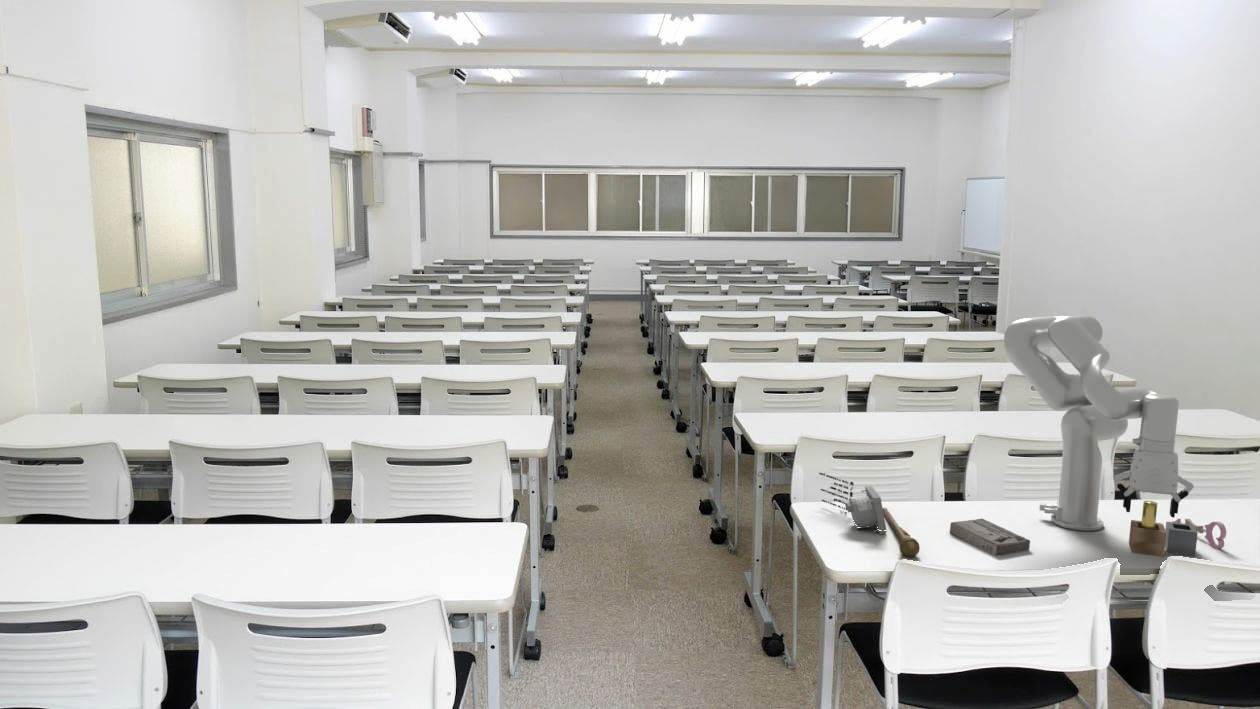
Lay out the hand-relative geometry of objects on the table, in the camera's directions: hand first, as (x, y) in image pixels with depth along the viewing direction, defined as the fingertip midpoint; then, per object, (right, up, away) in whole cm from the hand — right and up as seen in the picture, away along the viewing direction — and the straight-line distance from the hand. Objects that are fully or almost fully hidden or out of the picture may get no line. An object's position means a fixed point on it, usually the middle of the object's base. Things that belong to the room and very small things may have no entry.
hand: (1149, 513), depth 238 cm
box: (-37, -9, +7) cm, 38 cm away
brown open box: (0, -9, +2) cm, 9 cm away
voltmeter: (-68, -6, +22) cm, 72 cm away
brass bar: (0, -9, +2) cm, 9 cm away
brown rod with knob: (-59, -8, +11) cm, 60 cm away
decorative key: (+18, -8, +11) cm, 22 cm away
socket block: (+8, -9, +1) cm, 12 cm away
